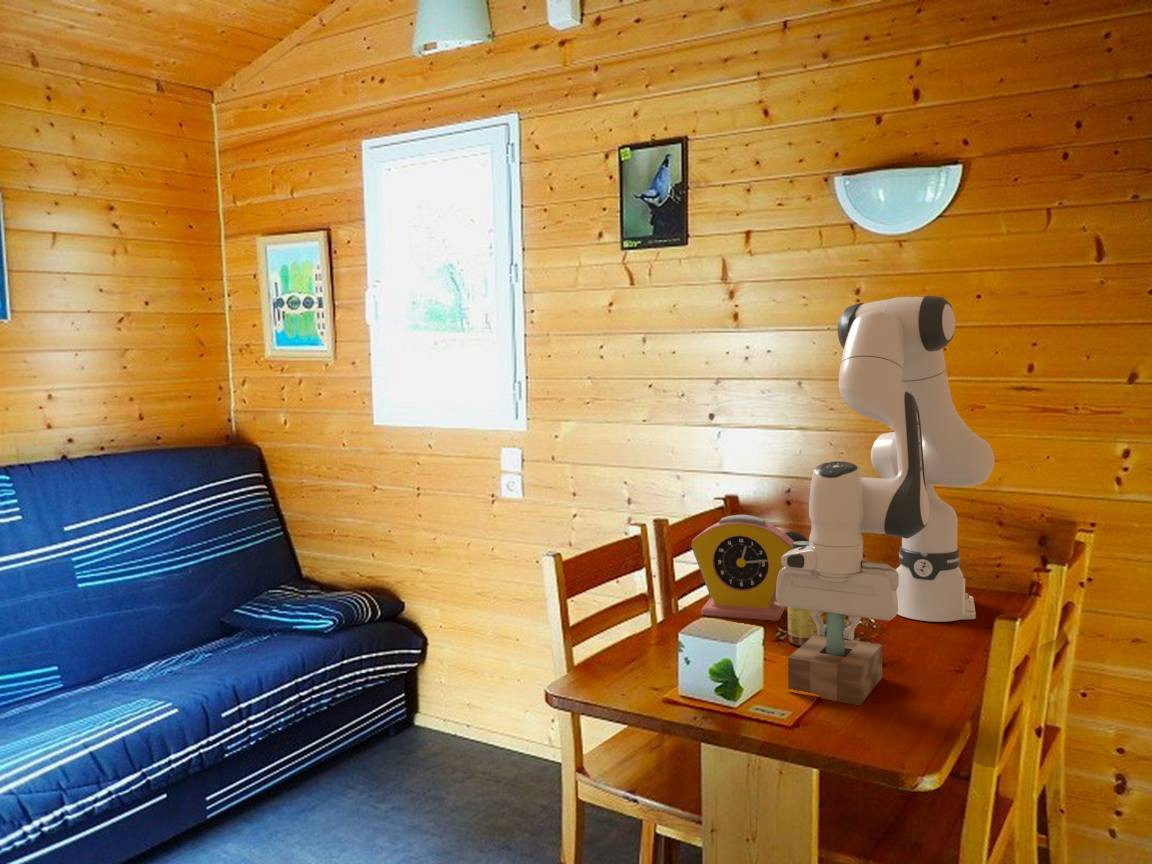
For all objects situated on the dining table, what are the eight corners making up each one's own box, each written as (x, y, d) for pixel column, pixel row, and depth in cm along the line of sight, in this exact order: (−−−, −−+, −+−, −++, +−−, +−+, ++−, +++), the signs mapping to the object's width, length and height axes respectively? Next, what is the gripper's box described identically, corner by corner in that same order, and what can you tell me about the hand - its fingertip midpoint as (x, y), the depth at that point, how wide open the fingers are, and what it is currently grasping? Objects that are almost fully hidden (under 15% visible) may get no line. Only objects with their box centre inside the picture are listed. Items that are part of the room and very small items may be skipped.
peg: (829, 662, 161) (829, 606, 160) (846, 665, 159) (846, 608, 158) (823, 667, 158) (824, 610, 157) (841, 670, 156) (841, 613, 156)
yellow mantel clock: (688, 615, 202) (687, 517, 199) (698, 603, 210) (697, 510, 208) (791, 623, 194) (791, 522, 192) (797, 611, 202) (796, 514, 200)
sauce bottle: (821, 648, 178) (821, 547, 176) (788, 647, 179) (787, 546, 177) (819, 637, 184) (819, 539, 182) (787, 636, 185) (786, 539, 183)
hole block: (814, 666, 168) (814, 634, 167) (881, 677, 162) (882, 644, 161) (788, 692, 156) (788, 657, 156) (859, 705, 150) (859, 669, 149)
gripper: (903, 560, 154) (902, 641, 155) (785, 548, 165) (785, 624, 166) (894, 569, 149) (893, 652, 150) (772, 556, 160) (772, 633, 161)
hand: (835, 637), depth 158 cm, fingers closed on peg, 3 cm apart
